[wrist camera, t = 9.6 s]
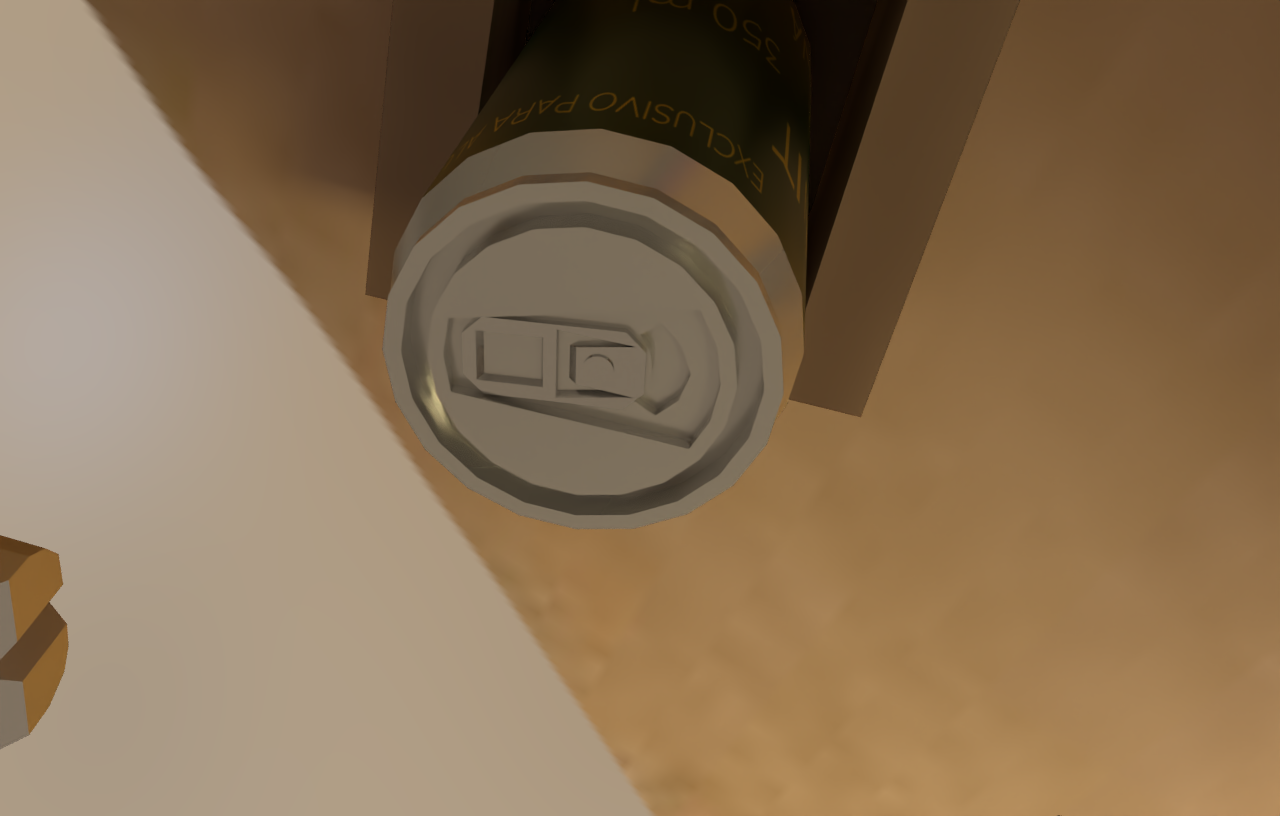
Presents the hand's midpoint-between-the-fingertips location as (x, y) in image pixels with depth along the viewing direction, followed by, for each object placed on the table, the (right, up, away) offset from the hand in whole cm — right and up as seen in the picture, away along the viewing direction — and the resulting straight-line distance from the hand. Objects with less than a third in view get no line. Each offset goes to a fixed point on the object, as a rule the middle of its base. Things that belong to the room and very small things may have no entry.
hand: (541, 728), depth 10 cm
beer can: (+2, +10, +15) cm, 18 cm away
